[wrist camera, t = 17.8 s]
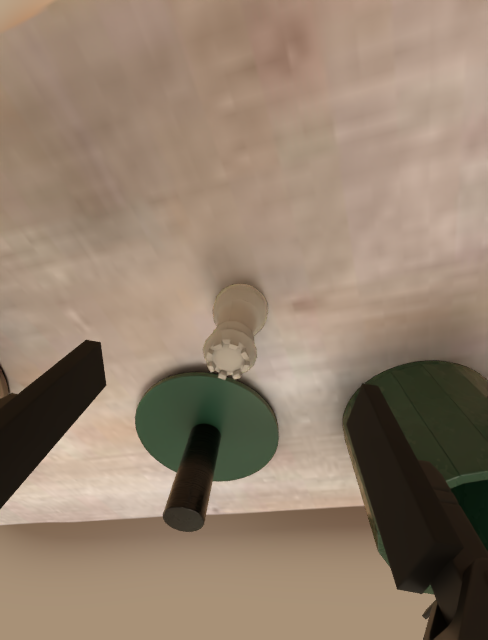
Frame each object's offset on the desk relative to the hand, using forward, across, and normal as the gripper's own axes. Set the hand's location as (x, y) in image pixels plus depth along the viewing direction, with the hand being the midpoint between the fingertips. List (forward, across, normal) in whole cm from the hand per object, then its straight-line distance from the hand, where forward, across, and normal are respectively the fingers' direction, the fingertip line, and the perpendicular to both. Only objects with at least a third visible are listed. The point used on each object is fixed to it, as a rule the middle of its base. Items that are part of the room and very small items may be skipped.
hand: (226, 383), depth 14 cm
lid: (+9, -2, -14) cm, 17 cm away
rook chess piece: (+10, 0, 0) cm, 10 cm away
